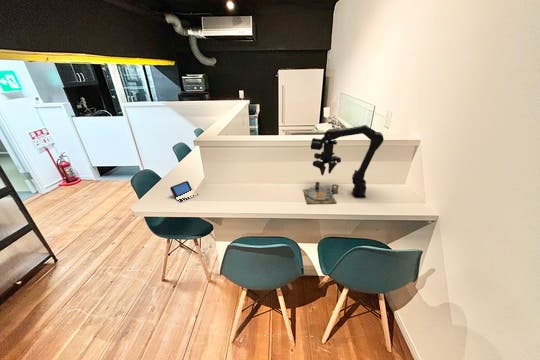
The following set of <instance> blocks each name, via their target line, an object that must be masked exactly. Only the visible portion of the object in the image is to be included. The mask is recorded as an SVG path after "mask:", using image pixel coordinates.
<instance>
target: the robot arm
mask: <svg viewBox="0 0 540 360" xmlns="http://www.w3.org/2000/svg"><path fill="white" fill-rule="evenodd" d="M362 134H363V135H364V136H366V138H368V139H369V146H368V149H367V150H366V153H365V155H364V157H363V160H362V161H361V164H360V166H359V168H358V169H357V170H356V169H354V173H353V174H351V175H352V176H351V181H352V184H353V187H352V191H351V194H352V195H353V197H354V198H355V199H357V198H361V199H363V198H366V197H367V196H366V190H367V181H366V180H365V175H366V171H367V169H368V168H369V166H370V163H371V161H372V159H373V157H374V156H375V153H376V152H377V150H378V149H379V148H380V147H381V146H382V144H383V142H384V139H385V138H384V135H383V133H382V132H380V131H376V130H375V129H373V128H371V127H369V126H368V125H366V124H363V125H359V126H353V127H348V128H342V129H340V128H339V129H338V128H330V129H329V128H328V129H327V130H326V131H325V133H324V135H323V136H322V138H315V137H313V138H312V139H311V143H310V149H311V150H315V151H316V150H317V151H321V150H323V151H322V152H320V153H321V154H320V153H319V152H316V153H315V152H314V155H313V157H314V159H316V160H313V162H312V166H313V167H315V168H317V169H319V171H320V175H321V176H324V174H325V171H326V168H327V166H325V164H328V171H327V172H328V174H331V173H332V171H333V170H334V168H335V167H336V166H337V165H338V164H339V163H341V162H342V158H341V157H339V156H337V155H335V152H334V147H335V146H336V145H337V144H338V141H336V139H339V138H341V137H349V136H355V135H362ZM334 145H335V146H334Z"/></svg>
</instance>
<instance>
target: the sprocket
mask: <svg viewBox="0 0 540 360" xmlns="http://www.w3.org/2000/svg"><path fill="white" fill-rule="evenodd" d="M314 185H315V187H309V188H308V189H309V190H308V192H306V194H305V195H306V196H308V197H309V198H311V199H313V201H325V200H326V201H329V200H330V197H331V195H333V196H334V194H333V193H332V192H330V191H331V190H330V191H328V190H327V189H328V188H325V187H323V186H322V187H320V182H319V181H315V184H314Z"/></svg>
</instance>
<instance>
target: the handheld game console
mask: <svg viewBox="0 0 540 360" xmlns="http://www.w3.org/2000/svg"><path fill="white" fill-rule="evenodd" d="M169 190H170V192H171V193H172V195H173V197H174V199H175V198H176V197H178V196H181V195H183V194H185V193H187V192H189V191H191V190H193V189H192V187H191V184H190V182H189V181H188V180H185V181H182V182H180V183H178V184H175V185H172V186H170V189H169ZM193 196H194V195H193ZM190 197H191V196H190ZM187 198H189V197H187ZM187 198H185V197H184V198H182V199H183V200H185V199H187ZM182 199H179V200H180V201H183V200H182Z"/></svg>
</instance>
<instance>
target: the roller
mask: <svg viewBox="0 0 540 360" xmlns="http://www.w3.org/2000/svg"><path fill="white" fill-rule="evenodd" d="M330 191H331V192H332V193H333V195H338V192H339V185H338V184H336V183H333V184H331V188H330Z"/></svg>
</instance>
